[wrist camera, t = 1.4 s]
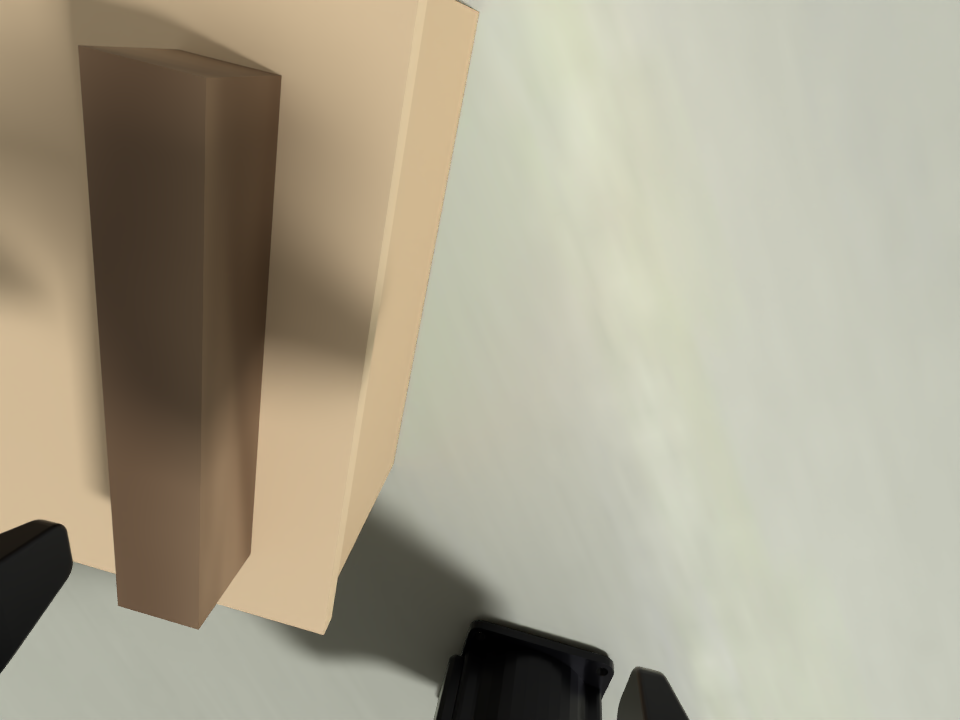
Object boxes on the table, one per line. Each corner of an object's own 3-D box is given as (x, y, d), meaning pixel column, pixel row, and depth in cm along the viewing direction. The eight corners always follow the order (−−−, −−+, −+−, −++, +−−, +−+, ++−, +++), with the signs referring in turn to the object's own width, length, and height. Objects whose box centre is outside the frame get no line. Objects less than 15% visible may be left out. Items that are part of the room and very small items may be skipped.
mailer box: (479, 12, 17) (417, -19, 11) (393, 464, 25) (326, 600, 18) (-176, -148, 18) (-573, -259, 12) (-73, 333, 25) (-289, 420, 19)
